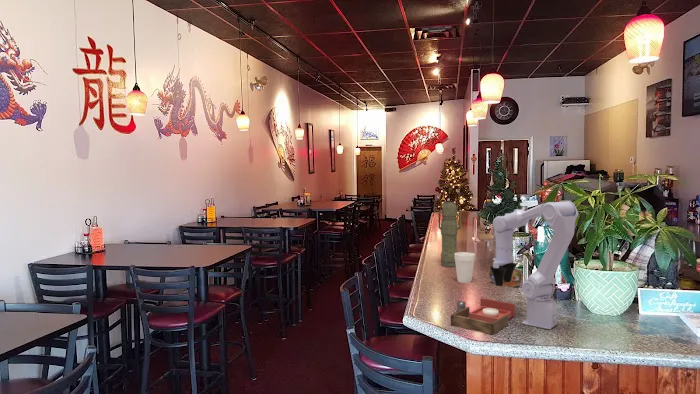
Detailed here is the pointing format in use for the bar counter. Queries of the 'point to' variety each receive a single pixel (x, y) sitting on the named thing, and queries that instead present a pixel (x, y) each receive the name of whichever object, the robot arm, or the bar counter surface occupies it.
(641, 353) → the bar counter surface
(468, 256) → the foam cup
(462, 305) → the cylinder
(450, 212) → the thermos
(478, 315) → the drawer
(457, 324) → the cabinet
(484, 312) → the white dome
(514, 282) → the tin
